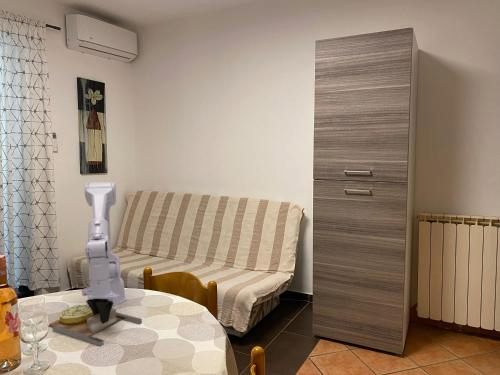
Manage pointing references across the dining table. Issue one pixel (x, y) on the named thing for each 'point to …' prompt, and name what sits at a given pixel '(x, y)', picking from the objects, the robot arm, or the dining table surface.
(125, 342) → the dining table surface
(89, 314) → the decorated donut
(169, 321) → the dining table surface
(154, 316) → the dining table surface
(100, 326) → the brown square board
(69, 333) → the rails
